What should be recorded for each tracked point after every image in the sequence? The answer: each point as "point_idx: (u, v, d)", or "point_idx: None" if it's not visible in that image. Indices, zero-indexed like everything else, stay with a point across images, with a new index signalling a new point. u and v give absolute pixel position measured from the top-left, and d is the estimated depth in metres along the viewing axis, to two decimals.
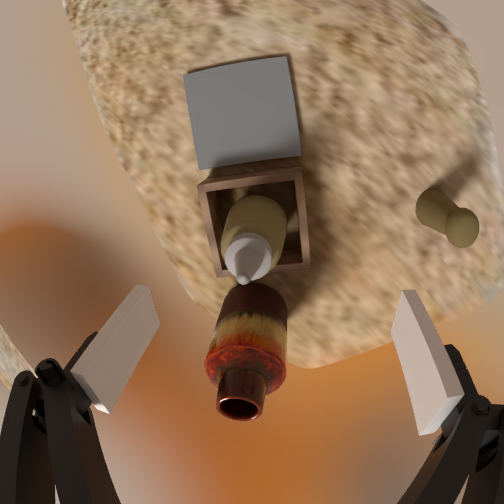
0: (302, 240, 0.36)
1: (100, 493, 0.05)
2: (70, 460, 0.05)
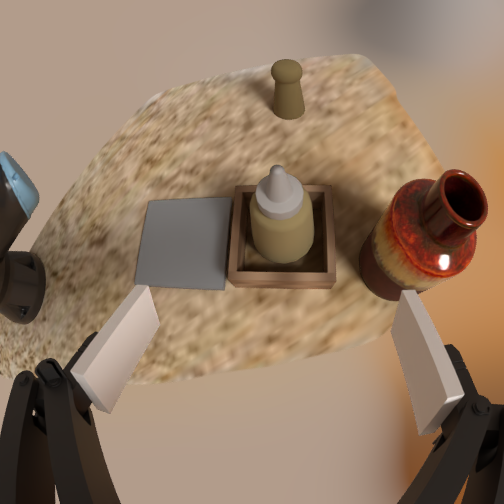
0: None
1: (100, 493, 0.05)
2: (70, 460, 0.05)
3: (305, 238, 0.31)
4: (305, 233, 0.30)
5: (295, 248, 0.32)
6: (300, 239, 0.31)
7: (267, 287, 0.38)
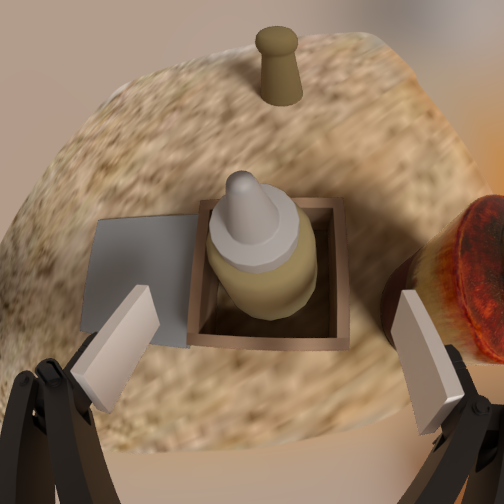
0: None
1: (100, 493, 0.05)
2: (69, 460, 0.05)
3: (303, 291, 0.19)
4: (303, 286, 0.18)
5: (286, 306, 0.20)
6: (294, 295, 0.18)
7: None
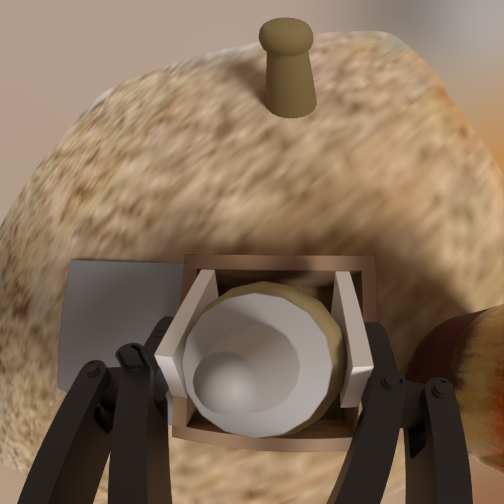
0: (314, 267, 0.18)
1: (157, 494, 0.05)
2: (134, 456, 0.06)
3: None
4: None
5: None
6: None
7: None
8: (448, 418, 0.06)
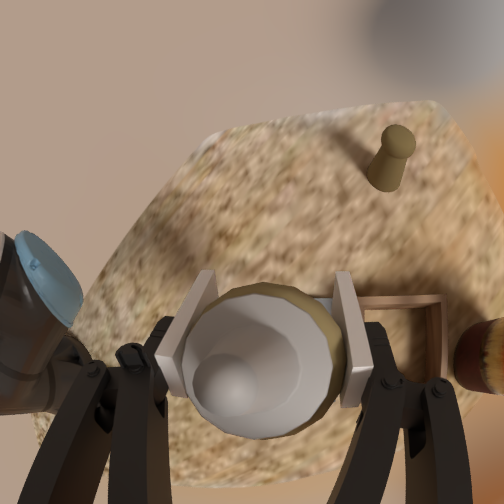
0: (420, 301, 0.31)
1: (156, 494, 0.05)
2: (134, 456, 0.06)
3: None
4: None
5: None
6: None
7: None
8: (448, 418, 0.06)
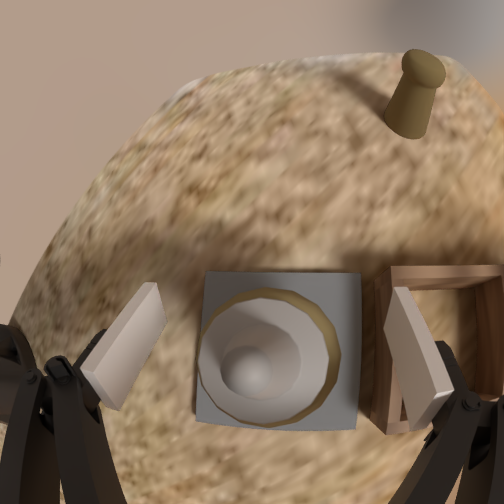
0: (478, 274, 0.18)
1: (106, 492, 0.05)
2: (77, 458, 0.05)
3: None
4: None
5: None
6: None
7: None
8: None
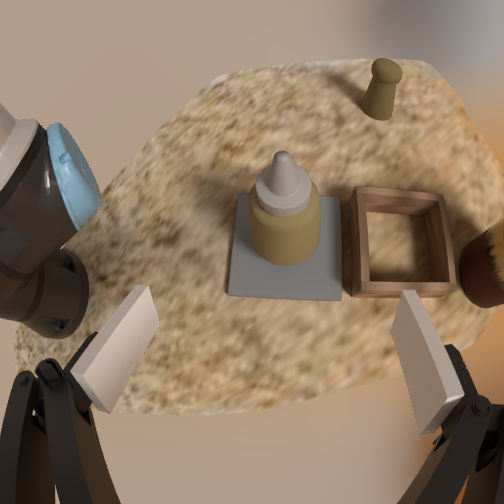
0: (418, 197, 0.32)
1: (100, 493, 0.05)
2: (69, 460, 0.05)
3: (312, 238, 0.27)
4: (312, 232, 0.26)
5: (300, 249, 0.28)
6: (306, 239, 0.27)
7: (385, 297, 0.33)
8: None
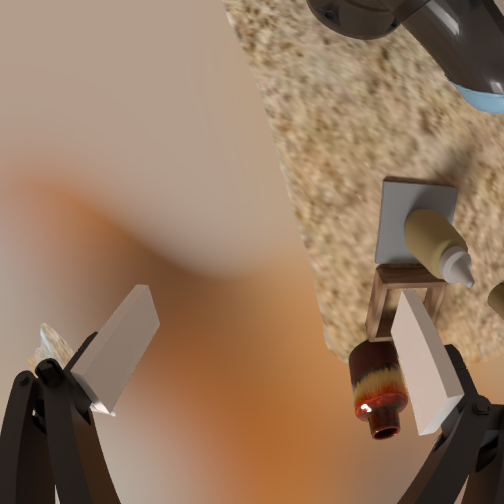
0: None
1: (100, 492, 0.05)
2: (70, 460, 0.05)
3: None
4: None
5: (415, 254, 0.35)
6: (422, 262, 0.34)
7: (372, 290, 0.48)
8: None
